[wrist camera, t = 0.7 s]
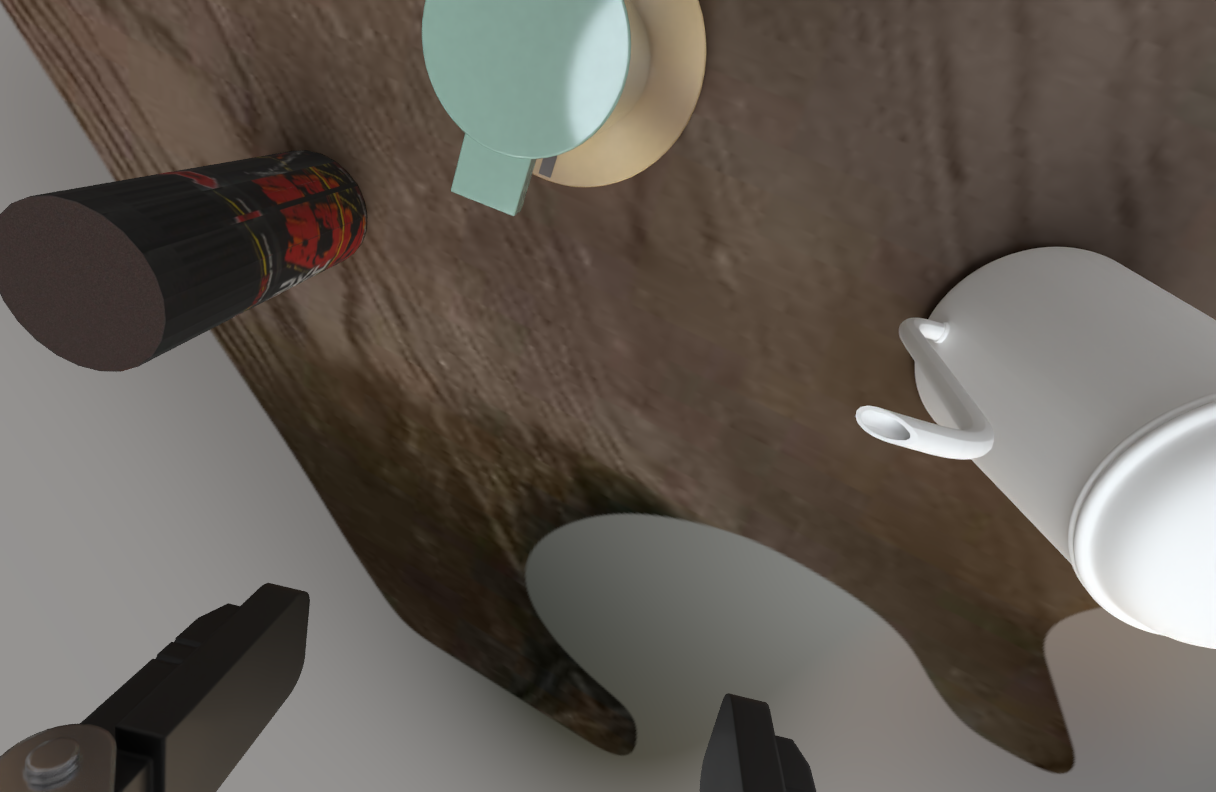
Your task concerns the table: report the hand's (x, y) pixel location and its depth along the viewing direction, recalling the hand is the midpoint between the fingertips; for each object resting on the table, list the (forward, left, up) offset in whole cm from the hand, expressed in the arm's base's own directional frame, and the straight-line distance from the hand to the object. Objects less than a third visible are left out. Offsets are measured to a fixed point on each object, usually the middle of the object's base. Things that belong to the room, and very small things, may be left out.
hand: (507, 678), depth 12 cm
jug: (-10, +6, -24) cm, 26 cm away
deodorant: (-14, -11, -26) cm, 31 cm away
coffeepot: (+14, +14, -26) cm, 32 cm away
